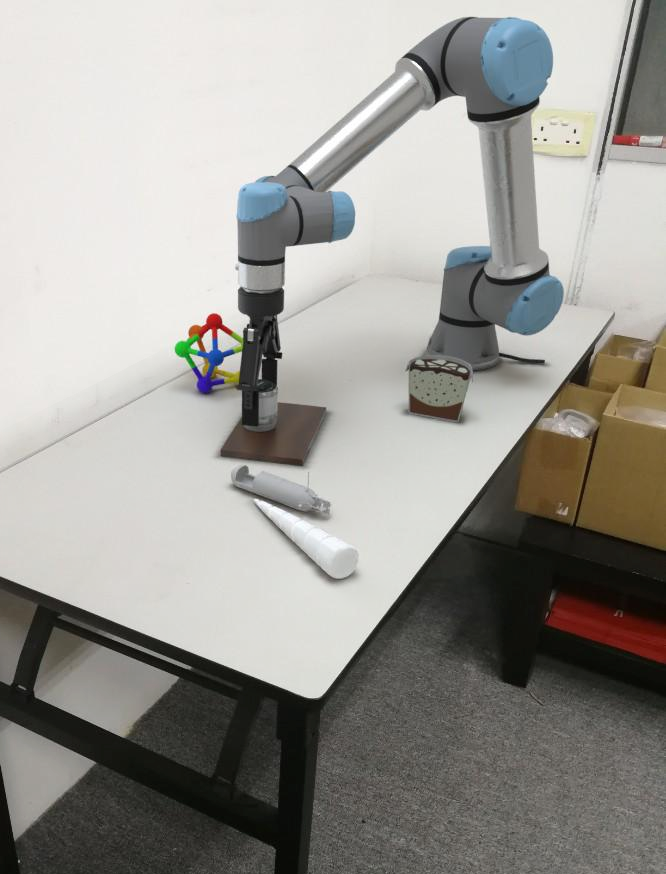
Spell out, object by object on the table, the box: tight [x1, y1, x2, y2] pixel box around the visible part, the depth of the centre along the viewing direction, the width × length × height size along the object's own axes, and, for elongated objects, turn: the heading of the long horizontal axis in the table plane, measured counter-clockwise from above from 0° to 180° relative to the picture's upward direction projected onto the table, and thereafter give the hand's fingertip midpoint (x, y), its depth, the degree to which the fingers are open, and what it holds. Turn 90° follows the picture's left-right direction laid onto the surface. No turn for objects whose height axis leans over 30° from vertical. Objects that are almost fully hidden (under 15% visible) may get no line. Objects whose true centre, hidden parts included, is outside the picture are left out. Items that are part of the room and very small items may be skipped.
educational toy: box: [174, 312, 252, 394], centre depth 164 cm, size 16×13×15 cm
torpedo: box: [230, 464, 332, 516], centre depth 129 cm, size 18×5×7 cm, turn 53°
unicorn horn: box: [253, 498, 359, 580], centre depth 121 cm, size 5×24×5 cm, turn 27°
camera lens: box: [244, 378, 279, 432], centre depth 149 cm, size 6×6×8 cm
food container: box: [405, 354, 474, 423], centre depth 157 cm, size 12×6×10 cm, turn 65°
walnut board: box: [220, 401, 327, 467], centre depth 151 cm, size 14×22×1 cm, turn 166°
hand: (260, 409), depth 149 cm, fingers open, 13 cm apart
